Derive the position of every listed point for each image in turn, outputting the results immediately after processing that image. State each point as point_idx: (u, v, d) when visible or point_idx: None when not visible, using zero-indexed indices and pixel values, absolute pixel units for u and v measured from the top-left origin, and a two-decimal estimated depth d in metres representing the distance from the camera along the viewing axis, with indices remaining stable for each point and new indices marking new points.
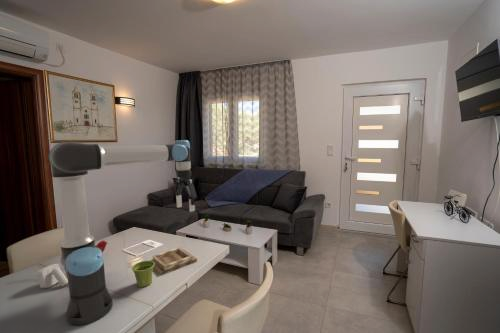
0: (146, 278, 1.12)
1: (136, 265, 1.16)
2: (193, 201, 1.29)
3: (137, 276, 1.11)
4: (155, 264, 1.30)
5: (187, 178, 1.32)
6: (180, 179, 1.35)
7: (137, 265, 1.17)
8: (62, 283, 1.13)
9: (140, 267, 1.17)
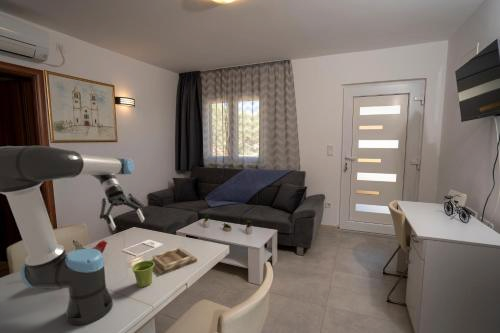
0: (146, 278, 1.12)
1: (136, 265, 1.16)
2: None
3: (137, 276, 1.11)
4: (155, 264, 1.30)
5: None
6: (113, 197, 1.23)
7: (137, 265, 1.17)
8: None
9: (140, 267, 1.17)
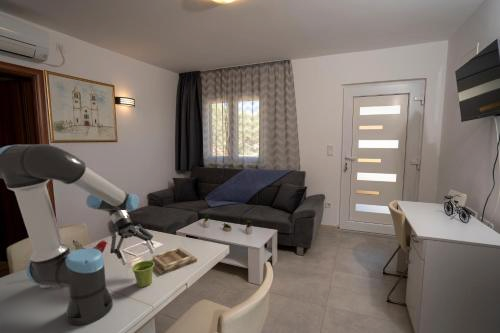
0: (146, 278, 1.12)
1: (136, 265, 1.16)
2: None
3: (137, 276, 1.11)
4: (155, 264, 1.30)
5: None
6: (123, 229, 1.22)
7: (137, 265, 1.17)
8: None
9: (140, 267, 1.17)
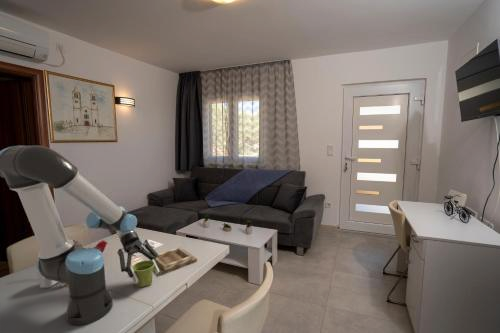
0: (146, 278, 1.12)
1: (136, 265, 1.16)
2: None
3: (137, 276, 1.11)
4: None
5: None
6: (128, 244, 1.17)
7: (138, 265, 1.17)
8: (62, 283, 1.13)
9: (140, 267, 1.17)
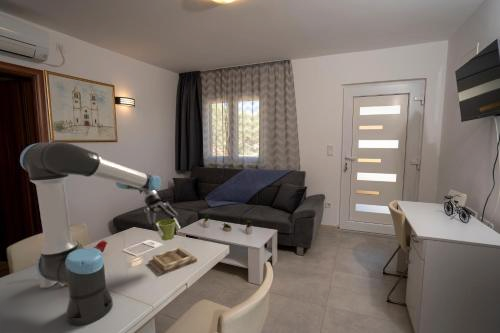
0: (169, 233, 1.27)
1: (160, 222, 1.31)
2: None
3: (161, 230, 1.26)
4: (155, 264, 1.30)
5: None
6: (152, 204, 1.32)
7: (161, 222, 1.31)
8: (62, 283, 1.13)
9: (163, 225, 1.32)
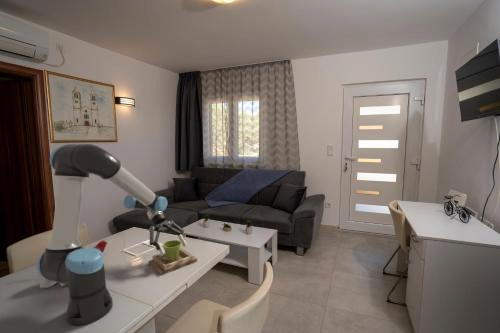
0: (175, 254, 1.31)
1: (165, 243, 1.35)
2: None
3: (167, 252, 1.30)
4: (155, 264, 1.30)
5: None
6: (158, 224, 1.36)
7: (166, 243, 1.36)
8: (62, 283, 1.13)
9: (169, 246, 1.37)
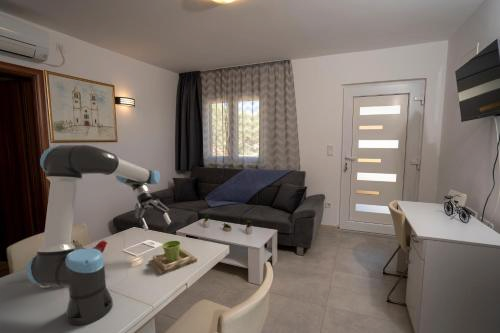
0: (175, 255, 1.31)
1: (165, 244, 1.35)
2: None
3: (167, 252, 1.30)
4: (155, 264, 1.30)
5: None
6: (144, 202, 1.43)
7: (166, 244, 1.36)
8: None
9: (168, 246, 1.37)
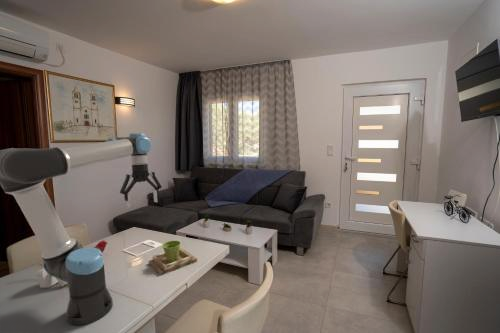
0: (175, 255, 1.31)
1: (165, 244, 1.35)
2: None
3: (167, 252, 1.30)
4: (155, 264, 1.30)
5: None
6: (137, 174, 1.28)
7: (166, 244, 1.36)
8: (62, 283, 1.13)
9: (168, 246, 1.37)
